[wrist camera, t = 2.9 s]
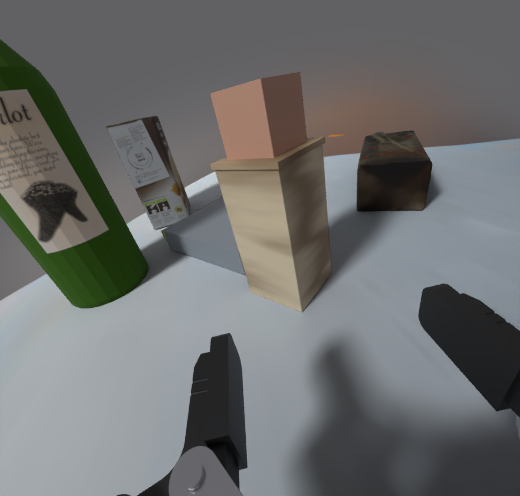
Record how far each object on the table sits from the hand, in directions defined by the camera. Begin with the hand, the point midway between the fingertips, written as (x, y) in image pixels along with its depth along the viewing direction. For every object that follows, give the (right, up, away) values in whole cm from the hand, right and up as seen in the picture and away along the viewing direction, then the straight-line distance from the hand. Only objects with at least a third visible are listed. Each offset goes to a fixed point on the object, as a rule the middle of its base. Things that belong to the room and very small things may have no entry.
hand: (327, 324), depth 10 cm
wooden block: (0, 0, +13) cm, 13 cm away
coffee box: (-19, +9, +36) cm, 41 cm away
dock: (-5, +5, +24) cm, 25 cm away
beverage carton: (+17, +12, +28) cm, 35 cm away
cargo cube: (-2, +10, +7) cm, 12 cm away
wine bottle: (-21, -1, +20) cm, 29 cm away
